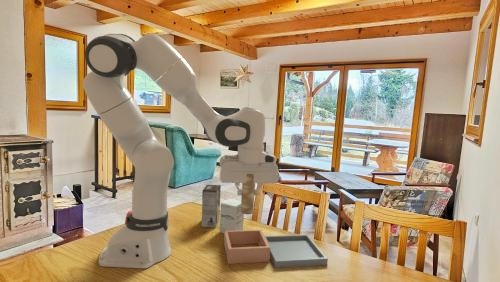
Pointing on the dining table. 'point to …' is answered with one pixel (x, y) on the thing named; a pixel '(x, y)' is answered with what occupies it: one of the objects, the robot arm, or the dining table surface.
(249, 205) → the dowel
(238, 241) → the open square box
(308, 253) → the tray
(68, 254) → the dining table surface
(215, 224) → the coffee box
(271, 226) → the dining table surface
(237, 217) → the supplement box
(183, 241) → the dining table surface
